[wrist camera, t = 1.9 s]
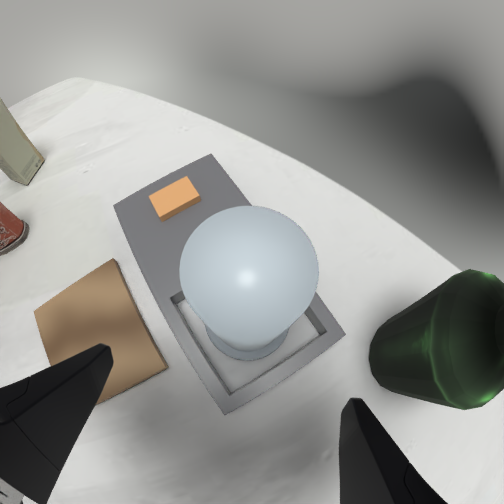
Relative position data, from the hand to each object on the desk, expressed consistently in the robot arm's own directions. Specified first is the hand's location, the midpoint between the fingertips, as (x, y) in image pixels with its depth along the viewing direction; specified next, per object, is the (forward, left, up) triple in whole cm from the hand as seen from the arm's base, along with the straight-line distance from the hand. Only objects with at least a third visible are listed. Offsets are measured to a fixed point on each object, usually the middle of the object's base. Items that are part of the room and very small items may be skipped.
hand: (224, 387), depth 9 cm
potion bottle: (-7, -12, -11) cm, 18 cm away
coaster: (+8, +9, -11) cm, 16 cm away
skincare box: (+34, +13, -11) cm, 38 cm away
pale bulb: (+3, -3, -11) cm, 12 cm away
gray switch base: (+7, -3, -11) cm, 14 cm away
